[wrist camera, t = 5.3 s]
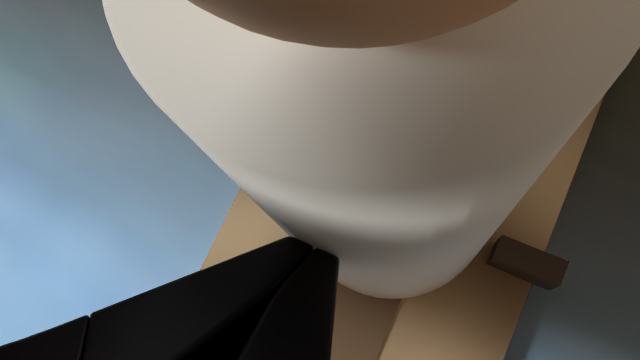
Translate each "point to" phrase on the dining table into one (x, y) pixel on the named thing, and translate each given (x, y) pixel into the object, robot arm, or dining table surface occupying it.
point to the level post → (380, 112)
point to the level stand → (452, 298)
